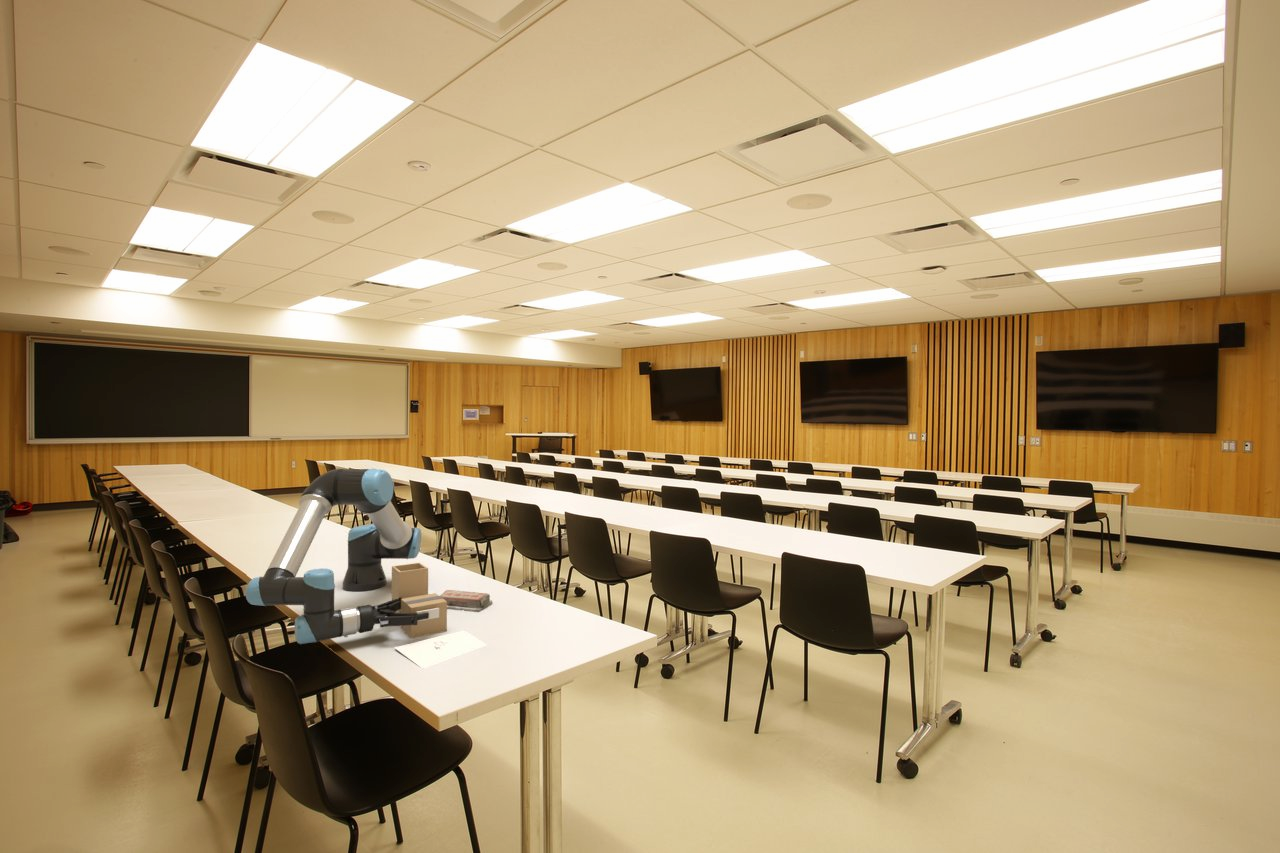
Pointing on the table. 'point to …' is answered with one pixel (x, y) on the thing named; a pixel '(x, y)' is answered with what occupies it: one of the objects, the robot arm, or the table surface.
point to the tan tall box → (409, 581)
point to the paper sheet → (440, 648)
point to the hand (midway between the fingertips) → (431, 606)
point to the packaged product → (466, 600)
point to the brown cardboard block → (419, 605)
